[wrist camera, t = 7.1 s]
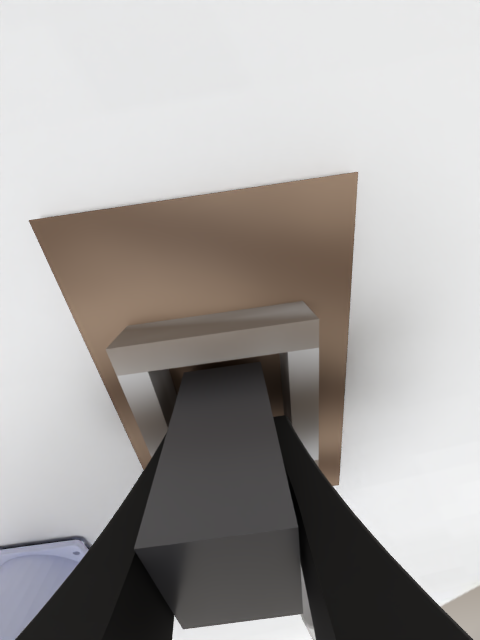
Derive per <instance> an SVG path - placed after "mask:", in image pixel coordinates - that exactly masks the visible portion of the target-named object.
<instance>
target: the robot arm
mask: <svg viewBox="0 0 480 640" xmlns="http://www.w3.org/2000/svg"><path fill="white" fill-rule="evenodd" d="M273 419H274V423H275V428H276V432H277V436H278V441H279V445H280V450H281V454H282V458H283V463H284V467H285V472H286V476H287V480H288V485H289V489H290V493H291V498H292V502H293V507H294V511H295V515H296V520H297V524H298V532H299V549H300V564H301V568H302V572H303V577H304V582H305V587H306V592H307V597H308V602H309V607H310V612H311V617H312V622H313V627H314V632H315V637H316V640H473V639H472V638H471V637H470V636H469V635H468V634H467V633H466V632H465V631H464V630H463V629H462V628H461V627H460V626H459V625H458V624H457V623H456V622H455V621H454V620H453V619H452V618H451V617H450V616H449V615H448V614H447V613H446V612H445V611H444V610H443V609H442V608H441V607H440V606H439V605H438V604H437V603H436V602H435V601H434V600H433V599H432V598H431V597H430V596H429V595H428V594H427V593H426V592H425V591H424V590H423V589H422V588H421V586H420V585H419V584H418V583H417V582H416V581H415V580H414V579H413V578H412V577H411V576H410V575H409V574H408V573H407V572H406V571H405V570H404V569H403V568H402V567H401V565H400V564H399V563H398V562H397V561H396V560H395V559H394V558H393V557H392V556H391V555H390V554H389V553H388V552H387V551H386V549H385V548H384V547H383V546H382V545H381V544H380V543H379V542H378V540H377V539H376V538H375V537H374V536H373V535H372V534H371V533H370V531H369V530H368V529H367V528H366V527H365V526H364V524H363V523H362V522H361V521H360V520H359V519H358V517H357V516H356V515H355V514H354V513H353V511H352V510H351V509H350V508H349V507H348V505H347V504H346V503H345V502H344V500H343V499H342V498H341V497H340V495H339V494H338V493H337V491H336V490H335V489H334V487H333V486H332V485H331V484H330V482H329V481H328V480H327V478H326V477H325V475H324V474H323V473H322V471H321V470H320V469H319V467H318V466H317V464H316V463H315V461H314V460H313V458H312V457H311V456H310V454H309V453H308V451H307V450H306V448H305V447H304V445H303V443H302V442H301V440H300V438H299V437H298V435H297V433H296V432H295V430H294V428H293V426H292V424H291V422H290V420H289V418H288V417H287V416H285V415H283V416H276V417H273ZM166 434H167V433H166ZM166 434H165V436H164V438H163V439H162V441H161V443H160V444H159V446H158V448H157V450H156V451H155V453H154V455H153V456H152V458H151V460H150V461H149V463H148V464H147V466H146V468H145V469H144V471H143V472H142V474H141V476H140V477H139V479H138V480H137V482H136V483H135V485H134V487H133V488H132V490H131V491H130V493H129V494H128V496H127V497H126V499H125V500H124V502H123V503H122V505H121V506H120V507H119V509H118V510H117V512H116V513H115V515H114V516H113V518H112V519H111V520H110V522H109V523H108V525H107V526H106V528H105V529H104V530H103V532H102V533H101V534H100V536H99V537H98V539H97V540H96V541H95V543H94V544H93V545H92V547H91V548H90V549H89V550H88V548H87V547H86V546H85V544H84V543H83V542H82V541H80V540H69V541H62V542H54V543H47V544H39V545H32V546H24V547H17V548H9V549H2V550H0V640H172V633H173V622H174V614H173V612H172V610H171V609H170V607H169V606H168V604H167V602H166V601H165V599H164V597H163V596H162V594H161V593H160V591H159V589H158V588H157V586H156V584H155V583H154V581H153V580H152V578H151V576H150V575H149V573H148V571H147V570H146V568H145V567H144V565H143V563H142V562H141V560H140V558H139V557H138V555H137V554H136V552H135V550H134V547H135V543H136V540H137V536H138V533H139V529H140V526H141V522H142V519H143V515H144V511H145V508H146V504H147V501H148V497H149V494H150V490H151V487H152V483H153V480H154V476H155V473H156V469H157V466H158V462H159V459H160V455H161V452H162V448H163V444H164V441H165V437H166Z"/></svg>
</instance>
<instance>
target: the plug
mask: <svg viewBox="0 0 480 640" xmlns="http://www.w3.org/2000/svg"><path fill="white" fill-rule="evenodd" d="M134 550H135V552H136V554H137V555H138V557H139V558H140V560H141V562H142V563H143V565H144V567H145V568H146V570H147V571H148V573H149V575H150V576H151V578H152V580H153V581H154V583H155V584H156V586H157V588H158V589H159V591H160V593H161V594H162V596H163V597H164V599H165V601H166V602H167V604H168V606H169V607H170V609H171V610H172V612H173V614H174V615H175V617H176V618H177V620H178V622H179V623H180V625H181V627H182V628H183V629H189V628H197V627H205V626H212V625H220V624H228V623H236V622H243V621H251V620H259V619H266V618H274V617H282V616H290V615H297V614H303V601H302V583H301V566H300V549H299V532H298V524H297V520H296V515H295V511H294V507H293V502H292V498H291V493H290V489H289V485H288V480H287V476H286V472H285V467H284V463H283V458H282V454H281V450H280V445H279V441H278V436H277V432H276V428H275V423H274V419H273V414H272V410H271V406H270V401H269V397H268V392H267V388H266V384H265V379H264V375H263V370H262V366H261V362H255V363H247V364H240V365H233V366H226V367H219V368H212V369H205V370H197V371H190V372H184V374H183V378H182V381H181V385H180V388H179V392H178V395H177V399H176V402H175V406H174V409H173V413H172V416H171V420H170V423H169V427H168V430H167V434H166V437H165V441H164V444H163V448H162V452H161V455H160V459H159V462H158V466H157V469H156V473H155V476H154V480H153V483H152V487H151V490H150V494H149V497H148V501H147V504H146V508H145V511H144V515H143V519H142V522H141V526H140V529H139V533H138V536H137V540H136V543H135V547H134Z"/></svg>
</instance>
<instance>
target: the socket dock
mask: <svg viewBox="0 0 480 640" xmlns="http://www.w3.org/2000/svg"><path fill="white" fill-rule="evenodd" d="M357 181H358V172H354V173H347V174H340V175H334V176H327V177H320V178H313V179H306V180H300V181H293V182H286V183H279V184H272V185H266V186H259V187H252V188H245V189H238V190H232V191H225V192H218V193H211V194H204V195H198V196H191V197H184V198H177V199H170V200H164V201H157V202H150V203H143V204H136V205H130V206H123V207H116V208H109V209H102V210H96V211H89V212H82V213H75V214H69V215H62V216H55V217H48V218H41V219H35V220H29V222H30V224H31V226H32V229H33V231H34V233H35V235H36V237H37V239H38V242H39V244H40V246H41V248H42V250H43V253H44V255H45V257H46V259H47V261H48V263H49V266H50V268H51V270H52V272H53V274H54V276H55V279H56V281H57V283H58V285H59V287H60V289H61V292H62V294H63V296H64V298H65V300H66V302H67V305H68V307H69V309H70V311H71V313H72V315H73V318H74V320H75V322H76V324H77V326H78V329H79V331H80V333H81V335H82V337H83V339H84V342H85V344H86V346H87V348H88V350H89V352H90V355H91V357H92V359H93V361H94V363H95V365H96V368H97V370H98V372H99V374H100V376H101V378H102V381H103V383H104V385H105V387H106V389H107V391H108V394H109V396H110V398H111V400H112V402H113V405H114V407H115V409H116V411H117V413H118V415H119V418H120V420H121V422H122V424H123V426H124V428H125V431H126V433H127V435H128V437H129V439H130V441H131V444H132V446H133V448H134V450H135V452H136V454H137V457H138V459H139V461H140V463H141V465H142V467H143V470H144V469H145V468H146V466H147V464H148V463H149V461H150V460H151V458H152V456H153V455H154V453H155V451H156V450H157V448H158V446H159V444H160V443H161V441H162V439H163V438H164V436H165V434H166V433H167V430H168V427H169V423H170V420H171V416H172V413H173V409H174V406H175V402H176V399H177V395H178V392H179V388H180V385H181V381H182V378H183V374H184V372H190V371H197V370H205V369H212V368H219V367H226V366H233V365H240V364H247V363H255V362H261V366H262V370H263V375H264V379H265V384H266V388H267V392H268V397H269V401H270V406H271V410H272V414H273V417H276V416H283V415H285V416H287V417H288V418H289V420H290V422H291V424H292V426H293V428H294V430H295V432H296V433H297V435H298V437H299V438H300V440H301V442H302V443H303V445H304V447H305V448H306V450H307V451H308V453H309V454H310V456H311V457H312V458H313V460H314V461H315V463H316V464H317V466H318V467H319V469H320V470H321V471H322V473H323V474H324V475H325V477H326V478H327V480H328V481H329V482H330V484H331V485H332V486H334V485H339V475H340V459H341V442H342V426H343V410H344V393H345V377H346V361H347V344H348V328H349V312H350V295H351V279H352V263H353V246H354V230H355V214H356V197H357Z"/></svg>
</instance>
